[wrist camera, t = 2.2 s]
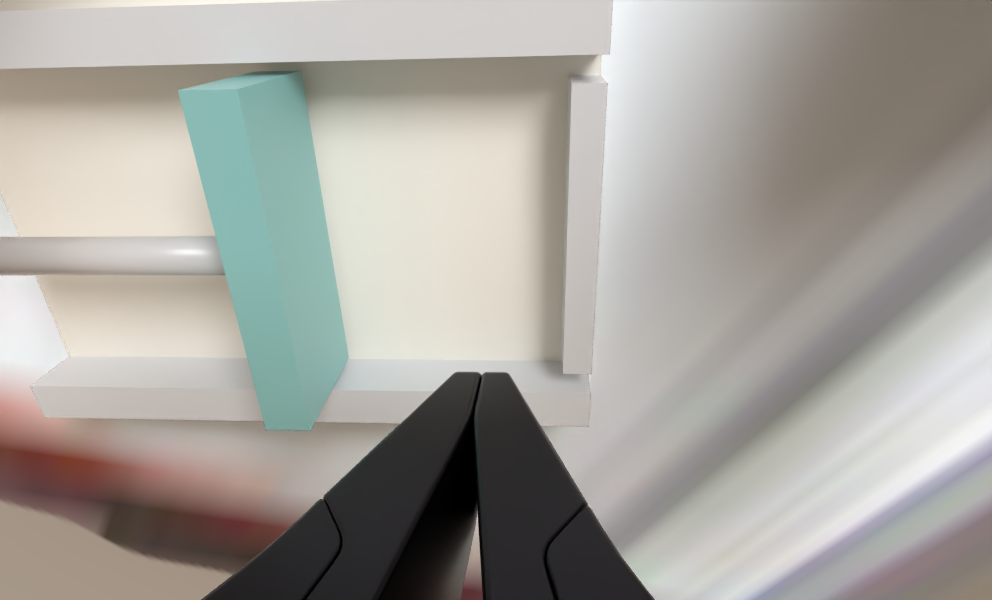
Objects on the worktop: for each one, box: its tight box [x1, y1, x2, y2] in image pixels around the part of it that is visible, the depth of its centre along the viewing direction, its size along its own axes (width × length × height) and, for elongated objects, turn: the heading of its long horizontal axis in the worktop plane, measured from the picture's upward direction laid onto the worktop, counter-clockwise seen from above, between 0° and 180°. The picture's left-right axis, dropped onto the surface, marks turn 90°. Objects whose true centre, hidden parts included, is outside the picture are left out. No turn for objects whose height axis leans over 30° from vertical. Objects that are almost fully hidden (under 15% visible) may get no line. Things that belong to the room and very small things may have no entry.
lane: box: [0, 0, 613, 427], centre depth 16 cm, size 17×12×2 cm
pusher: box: [0, 71, 349, 431], centre depth 15 cm, size 8×8×4 cm
